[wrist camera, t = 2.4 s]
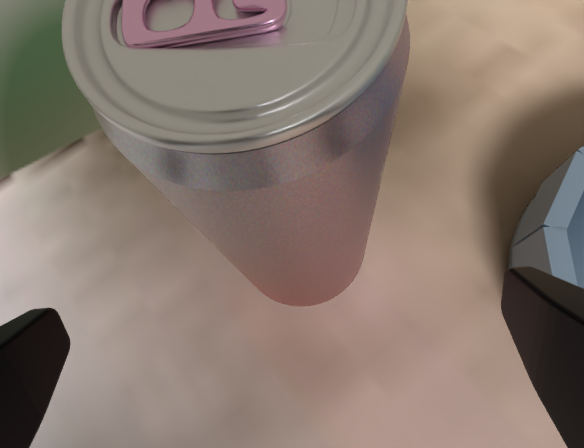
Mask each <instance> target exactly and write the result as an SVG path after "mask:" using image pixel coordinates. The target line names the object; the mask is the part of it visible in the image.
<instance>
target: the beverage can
mask: <svg viewBox="0 0 584 448" xmlns="http://www.w3.org/2000/svg"><path fill="white" fill-rule="evenodd" d="M407 2H408V0H66V1H65V5H64V10H63V16H62V42H63V50H64V55H65V59H66V62H67V65H68V68H69V71H70V73H71V75H72V77H73V79H74V81H75V83H76V85H77V86H78V88H79V89H80V91H81V93H82V94H83V95H84V96H85V97H86V99H87V100H88V102H89V103H90V104H91V105H92V107H93V110H94V113H95V115H96V118H97V119H98V122H99V124H100V126H101V128H102V129H103V131H104V132H105V134H106V136H107V137H108V138H109V139H110V141H111V142H112V143H113V145H114V146H115V147H116V148H117V149H118V150H119V151H120V152H121V153H122V154H123V155H124V156H125V157H126V158H127V159H128V160H129V161H130V162H131V163H132V164H133V165H134V166H135V167H136V168H137V169H138V170H139V171H140V172H141V173H142V174H143V175H144V176H145V177H146V178H147V179H148V180H149V181H150V182H151V183H152V184H153V185H154V186H155V187H156V188H157V189H158V190H159V191H160V192H161V193H162V194H163V195H164V196H165V197H166V198H167V199H168V200H169V201H170V202H171V203H172V204H173V205H174V206H175V207H176V208H177V209H178V210H179V211H180V212H181V213H182V214H183V215H184V216H185V217H186V218H187V219H188V220H189V221H190V222H191V223H192V224H193V225H194V226H195V227H196V228H197V229H198V230H199V231H200V232H201V233H202V234H203V235H204V236H205V237H206V238H207V239H208V240H209V241H210V242H211V243H212V244H213V245H214V246H215V247H216V248H217V249H218V250H219V251H220V252H221V253H222V254H223V255H224V256H225V257H226V258H227V259H228V260H229V261H230V262H231V263H232V264H233V265H234V266H235V267H236V268H237V269H238V270H239V271H240V272H241V273H242V274H243V275H244V276H245V277H246V278H247V279H248V280H249V281H250V282H251V283H252V284H253V285H254V286H255V287H257V288H258V289H259V290H260V291H261V292H262V293H263V294H265V295H266V296H268V297H269V298H271V299H273V300H275V301H277V302H280V303H283V304H286V305H291V306H311V305H316V304H320V303H323V302H326V301H328V300H330V299H332V298H334V297H335V296H337V295H338V294H340V293H341V292H342V291H344V290H345V289H346V288H347V287H348V286H349V285H350V283H351V282H352V281H353V279H354V278H355V277H356V275H357V273H358V271H359V269H360V267H361V264H362V261H363V257H364V252H365V248H366V244H367V239H368V235H369V230H370V226H371V222H372V217H373V213H374V209H375V204H376V200H377V196H378V191H379V187H380V182H381V178H382V174H383V169H384V165H385V161H386V156H387V152H388V147H389V143H390V139H391V134H392V130H393V126H394V121H395V117H396V113H397V108H398V104H399V99H400V95H401V91H402V86H403V82H404V78H405V73H406V69H407V64H408V59H409V50H410V34H409V25H408V20H407V15H406V11H407Z"/></svg>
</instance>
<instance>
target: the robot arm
mask: <svg viewBox="0 0 584 448" xmlns="http://www.w3.org/2000/svg"><path fill="white" fill-rule="evenodd" d="M501 310H502V314H503V317H504V319H505V322H506V324H507V326H508V329H509V331H510V333H511V336H512V338H513V340H514V343H515V345H516V347H517V350H518V352H519V354H520V357H521V359H522V361H523V364H524V366H525V369H526V371H527V373H528V376H529V378H530V380H531V382H532V384H533V386H534V388H535V390H536V392H537V394H538V396H539V398H540V400H541V401H542V403H543V405H544V407H545V408H546V410H547V412H548V414H549V415H550V417H551V419H552V421H553V423H554V424H555V426H556V428H557V430H558V431H559V433H560V435H561V437H562V438H563V440H564V442H565V444H566V446H567V447H568V448H584V288H581V287H579V286H576V285H574V284H572V283H569V282H567V281H565V280H562V279H560V278H558V277H555V276H553V275H550V274H548V273H546V272H543V271H541V270H539V269H536V268H534V267H531V266H523V267H512V268H509V269H507V270H506V272H505V275H504V283H503V291H502V299H501ZM69 350H70V338H69V336H68V333H67V331H66V329H65V327H64V325H63V322H62V320H61V318H60V316H59V314H58V312H57V311H56V310H55V309H53V308H41V309H33V310H30V311H28V312H26V313H24V314H22V315H21V316H19V317H17V318H15V319H13V320H11V321H9V322H7V323H6V324H4V325H2V326H0V448H29V447H30V445H31V443H32V441H33V439H34V437H35V435H36V433H37V431H38V429H39V427H40V424H41V422H42V420H43V418H44V415H45V413H46V410H47V408H48V405H49V403H50V400H51V397H52V395H53V392H54V390H55V387H56V384H57V382H58V379H59V376H60V374H61V371H62V369H63V366H64V363H65V361H66V358H67V355H68V353H69Z"/></svg>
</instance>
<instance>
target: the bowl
mask: <svg viewBox="0 0 584 448" xmlns="http://www.w3.org/2000/svg"><path fill="white" fill-rule="evenodd" d="M523 266H531V267H534V268H536V269H539V270H541V271H543V272H546V273H548V274H550V275H553V276H555V277H558V278H560V279H562V280H565V281H567V282H569V283H572V284H574V285H576V286H579V287H581V288H584V146H583V147H581V148H579V149H578V150H577V151H576V152H575V153H574V154H572V155H571V156H570V157H569V158H568V159H567V160H566V161H565V162H564V163H563V164H562V165H560V166H559V167H558V168H557V169H556V170H555V171H554V172H553V173H552V174H551V175H549V176H548V177H547V178H546V179H545V180H544V181H543V182H542V183H541V186H540V188H539V190H538V192H537V194H536V195H535V197H534V198H533V199H532V200H531V202H530V203H529V204H528V205H527V207H526V209H525V210H524V212H523V214H522V216H521V217H520V219H519V221H518V223H517V226H516V229H515V231H514V234H513V237H512V241H511V246H510V251H509V259H508V269H509V268H512V267H523Z"/></svg>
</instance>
